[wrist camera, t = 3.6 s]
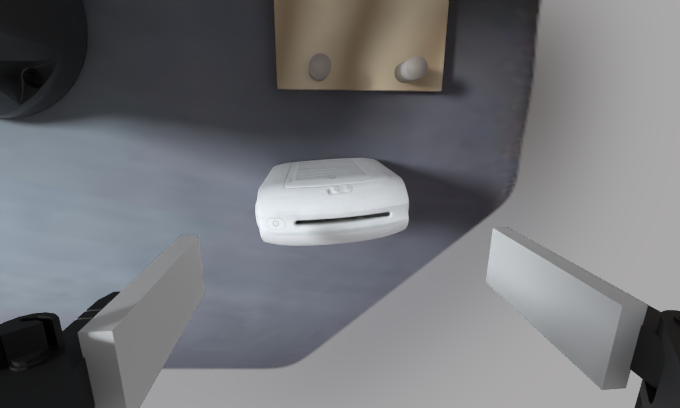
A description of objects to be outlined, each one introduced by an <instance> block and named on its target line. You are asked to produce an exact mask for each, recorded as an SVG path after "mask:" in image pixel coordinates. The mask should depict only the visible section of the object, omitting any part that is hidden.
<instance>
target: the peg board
mask: <svg viewBox="0 0 680 408" xmlns="http://www.w3.org/2000/svg"><path fill="white" fill-rule="evenodd" d="M448 6H449V0H274V16H275V43H276V69H277V89H286V90H351V91H417V92H438V91H442V78H443V66H444V54H445V42H446V30H447V18H448Z"/></svg>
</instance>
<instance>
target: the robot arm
mask: <svg viewBox="0 0 680 408" xmlns="http://www.w3.org/2000/svg"><path fill="white" fill-rule="evenodd" d="M86 47H87V25H86V18H85V13H84V8H83V5H82V1H81V0H0V118H16V117H23V116H27V115H31V114H34V113H37V112H40V111H42V110H44V109H46V108H48V107H50V106H51V105H53V104H54V103H56V102H57V101H58V100H59V99H61V98H62V97H63V96H64V95H65V94H66V93H67V92H68V91H69V89H70V88H71V87H72V85H73V84H74V82H75V81H76V79H77V77H78V75H79V73H80V71H81V68H82V65H83V62H84V59H85V54H86ZM486 283H487V284H488V285H490V286H491V287H492V288H493V289H494V290H495V291H496V292H497V293H498V294H499V295H501V297H502V298H504V299H505V300H506V301H507V302H508V303H509V304H510V305H511V306H512V307H513V308H514V309H515V310H517V311H518V312H519V313H520V314H521V315H522V316H523V317H524V318H525V319H526V320H527V321H528V322H529V323H530V324H532V325H533V326H534V327H535V328H536V329H537V330H538V331H539V332H540V333H541V334H542V335H543V336H544V337H545V338H547V339H548V340H549V341H550V342H551V343H552V344H553V345H554V346H555V347H556V348H557V349H559V351H561V352H562V353H563V354H564V355H565V356H566V357H567V358H568V359H569V360H570V361H571V362H572V363H573V364H575V365H576V366H577V367H578V368H579V369H580V370H581V371H582V372H583V373H584V374H585V375H587V377H589V378H590V379H591V380H592V381H593V382H594V383H595V384H596V385H597V386H599V388H600V389H601V390H606V389H620V388H626V385H627V382H628V378H629V374H630V370H632V371H633V372H635V373H636V374H637V375H638V376H640V377H641V378H642V379H643V380H642V384H641V387H640V391H639V394H638V398H637V402H636V405H635V408H680V311H676V310H666V311H663V312H660V311H658V310H656V309H654V308H652V307H651V306H649V305H648V304H646V303H644V302H642V301H640V300H639V299H637V298H635V297H633V296H631V295H630V294H628V293H626V292H624V291H622V290H620V289H619V288H617V287H615V286H613V285H611V284H610V283H608V282H606V281H604V280H602V279H601V278H599V277H597V276H595V275H593V274H592V273H590V272H588V271H586V270H584V269H583V268H581V267H579V266H577V265H575V264H574V263H572V262H570V261H568V260H566V259H565V258H563V257H561V256H559V255H557V254H556V253H554V252H552V251H550V250H548V249H546V248H545V247H543V246H541V245H539V244H537V243H535V242H534V241H532V240H530V239H528V238H527V237H525V236H523V235H521V234H519V233H518V232H516V231H514V230H512V229H510V228H493V231H492V238H491V246H490V254H489V262H488V269H487V278H486ZM204 295H205V287H204V277H203V267H202V258H201V248H200V238H199V235H181V236H179V237H178V238H177V239H176V240H175V241H174V242H173V243H172V244H171V245H170V246H169V247H168V248H167V249H166V250H165V251H164V252H162V253H161V254H160V255H159V256H158V257H157V258H156V259H155V260H154V261H153V262H152V263H151V264H150V265H149V266H148V267H147V268H145V269H144V270H143V271H142V272H141V273H140V274H139V275H138V276H137V277H136V278H135V279H134V280H133V281H132V282H131V283H130V284H129V285H127V286H126V287H125V288H124V289H123V290H122V291H121V292H113V293H111V294H109V295H107V296H105V297H103V298H101V299H99V300H98V301H97V302H95V303H94V304H93V305H92V306H91V307H90V308H89V309H87V312H84V313H83V314H82V315H81V316H79V317H78V319H77V320H75V321H74V322H73V323H72V324H70V325H69V326H68V327H67V328H66V329H65V330H64V331H62V329H61V325H60V320H59V317H58V316H57V315H56V314H53V313H46V312H45V313H35V314H30V315H26V316H21V317H18V318H15V319H12V320H10V321H7V322H4V323H2V324H0V408H140V406H141V404H142V402H143V401H144V399H145V397H146V396H147V394H148V392H149V390H150V388H151V387H152V385H153V383H154V382H155V380H156V378H157V376H158V375H159V373H160V371H161V369H162V368H163V366H164V364H165V362H166V361H167V359H168V357H169V355H170V354H171V352H172V350H173V349H174V347H175V345H176V343H177V342H178V340H179V338H180V336H181V335H182V333H183V331H184V329H185V328H186V326H187V324H188V322H189V321H190V319H191V317H192V315H193V314H194V312H195V310H196V308H197V307H198V305H199V303H200V302H201V300H202V298H203V296H204Z"/></svg>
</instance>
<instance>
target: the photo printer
mask: <svg viewBox="0 0 680 408" xmlns="http://www.w3.org/2000/svg"><path fill="white" fill-rule="evenodd" d="M408 210H409V198H408V193H407V190H406V186H405V184H404V182H403V180H402V178H401V177H399V176H398V175H397V174H395V173H394V172H392V171H391V170H389V169H388V168H387V167H385V166H384V165H382V164H381V163H380V162H378V161H377V160H375V159H370V158H341V159H325V160H311V161H300V162H291V163H284V164H280V165H277V166H274V167H273V168H272V170H271V171H270V173H269V174H268V176H267V178H266V179H265V181H264V182H263V184H262V185H261V187H260V188H259V191H258V196H257V202H256V205H255V213H256V221H257V225H258V227H259V228H260V234H261V237H262V239H263V241H264V242H268V243H272V244H278V245H292V246H296V245H297V246H307V245H328V244H340V243H349V242H357V241H364V240H370V239H376V238H380V237H385V236H389V235H392V234H395V233H397V232H400V231H402V230H404V229H406V227H407V226H408V222H409V215H408Z"/></svg>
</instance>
